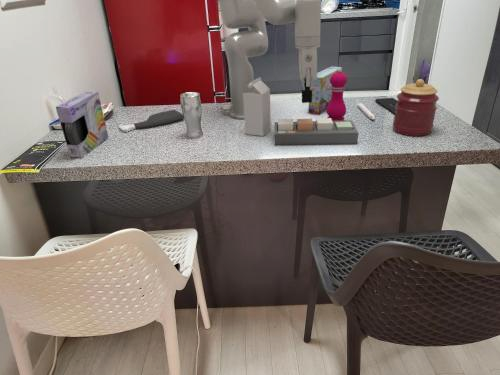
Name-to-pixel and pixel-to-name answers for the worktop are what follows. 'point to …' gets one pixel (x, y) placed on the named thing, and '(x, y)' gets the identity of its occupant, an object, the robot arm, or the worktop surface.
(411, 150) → the worktop surface
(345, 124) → the key sage
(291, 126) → the key white left
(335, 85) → the pepper mill
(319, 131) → the keypad
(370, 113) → the marker
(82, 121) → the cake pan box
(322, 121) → the key white mid
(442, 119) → the worktop surface
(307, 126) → the key terracotta
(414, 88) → the canister
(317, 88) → the snack box
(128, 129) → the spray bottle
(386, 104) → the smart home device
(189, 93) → the beer glass
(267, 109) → the milk carton
